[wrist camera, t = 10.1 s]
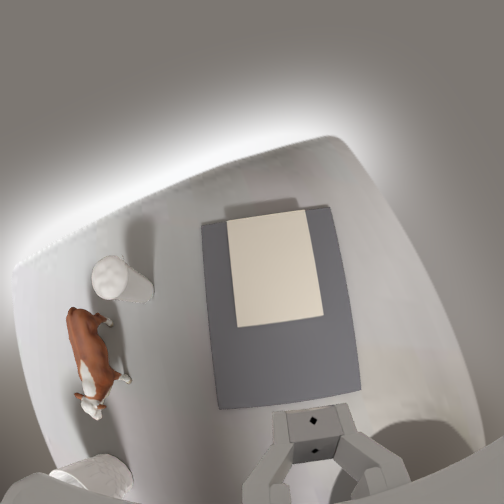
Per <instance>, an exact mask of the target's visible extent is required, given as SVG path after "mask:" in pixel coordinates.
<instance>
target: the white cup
mask: <svg viewBox="0 0 504 504" xmlns="http://www.w3.org/2000/svg"><path fill="white" fill-rule="evenodd" d="M49 476H52V477H54V478H56V479H59V480H61V481H64V482H66V483H69V484H72V485H75V486H78V487H80V488H83V489H86V490H90V491H93V492H96V493H99V494H103V495H106V496H110V497H114V498H118V499H123V497H124V496H125V495H126V494H127V493H128V492H129V491H130V490H131V489H132V486H133V478H132V474H131V472H130V471H129V469H128V468H127V466H126V465H125V464H124V463H123V462H121V461H120V460H119V459H118V458H117V457H114V456H112V455H109V454H98V455H96V456H94V457H91V458H87V459H84V460H82V461H78V462H75V463H73V464H70V465H67V466H64V467H61V468H58V469H55V470H53V471H51V472H50V474H49Z"/></svg>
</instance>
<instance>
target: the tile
mask: <svg viewBox="0 0 504 504" xmlns="http://www.w3.org/2000/svg"><path fill="white" fill-rule="evenodd" d="M227 230H228V240H229V251H230V261H231V271H232V280H233V290H234V299H235V309H236V318H237V327H239V328H242V327H251V326H259V325H267V324H274V323H281V322H288V321H295V320H302V319H308V318H315V317H321V316H323V315H324V314H323V307H322V301H321V295H320V288H319V282H318V277H317V271H316V265H315V260H314V254H313V249H312V243H311V238H310V233H309V228H308V223H307V218H306V213H305V210H297V211H290V212H282V213H275V214H268V215H261V216H254V217H248V218H241V219H234V220H228V221H227Z"/></svg>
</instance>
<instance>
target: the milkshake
mask: <svg viewBox="0 0 504 504" xmlns="http://www.w3.org/2000/svg"><path fill="white" fill-rule="evenodd" d="M122 257H123V255H122ZM123 260H124V258H123ZM123 260H122V259H121V258H119V257H117V256H106V257H104V258H103V259H101V260H100V261H98V262H97V263H96V265H95V266H94V268H93V272H92V278H91V281H92V285H93V288H94V290H95V292H96V294H97V295H98V296H100V297H101V298H103V299H106V300H118V301H129V302H135V303H142V304H145V303H146V302H148V301H150V300H151V298H152V296H153V294H154V287H153V284H152V283H151V282H150V281H149V280H148V279H147V278H146V277H144V276H143V275H142V274H140V273H139V272H137V271H136V270H135V269H133V268H132V267H131V266H129V265H128V264H127V263H126V262H125V261H123Z"/></svg>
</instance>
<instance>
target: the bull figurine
mask: <svg viewBox="0 0 504 504" xmlns="http://www.w3.org/2000/svg"><path fill="white" fill-rule="evenodd" d="M66 322H67V328H68V333H69V340H70V342H71V345H72V348H73V352H74V357H75V361H76V364H77V367H78V374H79V377H80V379H81V381H82V386H83V390H84V393H85V396H84V395H82V394H79V393H74V395H75V397H76V398H78V399H80V400H82V402H81V406H82V408H83V410H84V411H85V412H86V413H88V414H90V415H91V416H92V417H93V418H94V419H96V420H99V419H101V418H102V413H101V411H102V409H104V408H106V407H107V406H105V405H103V402H104V399H105V398H106V397H107V396H108V395H109V393H110V391H111V388H112V385H113V382H114V380H123V381H125V382H126V383H127V384H130V383H131V382H132V379H131V378H130V377H128V375H127V374H126V375H125V374H124V375H121V374H120V373H118V372H116V371H115V370H113V369H112V368H111V367H110V366H109V361H108V351H107V347H106V345H105V343H104V342H103V340H102V339H101V338H100V336H99V335H98V332H97V328H98V325H100V324H101V323H102V322H104V323H106V324H107V325H108V326H109V327H112V326H113V321H112V320H109V317H104V316H102V315H100V314H99V313H96V314H95V315H92V314H91V313H90V312H88V311H86V310H84V309H76V308H75V307H71V308H70V309H69V311H68V315H67V317H66Z"/></svg>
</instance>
